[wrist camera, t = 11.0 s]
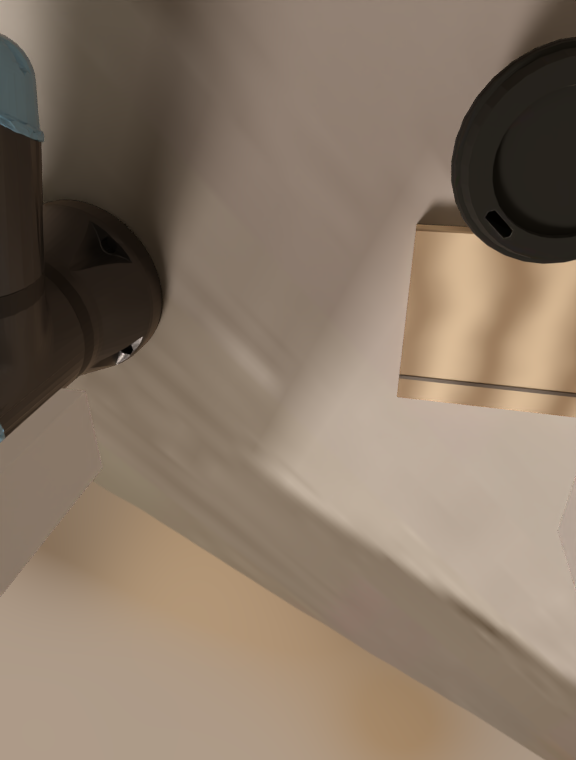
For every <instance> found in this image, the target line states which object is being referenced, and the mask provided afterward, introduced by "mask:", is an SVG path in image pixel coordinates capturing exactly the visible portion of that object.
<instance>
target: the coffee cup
mask: <svg viewBox="0 0 576 760" xmlns="http://www.w3.org/2000/svg"><path fill="white" fill-rule="evenodd" d="M451 183H452V188H453V193H454V198H455V202H456V204H457V206H458V209H459V211H460V213H461V216H462V218H463V220H464V221H465V222H466V224H467V225H468V226H469V228H470V229H471V231H472V232H473V233H474V234H475V235H476V236H477V237H478V238H479V239H480V240H481V241H483V242H484V243H485V244H486V245H487V246H489V247H490V248H492V249H494V250H496V251H498V252H499V253H501V254H503V255H505V256H508V257H511V258H514V259H517V260H520V261H523V262H531V263H540V264H550V263H564V262H569V261H573V260H576V37H571V38H565V39H559V40H556V41H554V42H551V43H548V44H546V45H543V46H540V47H537V48H535V49H533V50H531V51H530V52H528V53H526V54H525V55H523V56H521V57H519V58H518V59H516V60H514V61H513V62H511V63H510V64H509V65H508V66H507V67H505V68H504V69H503V70H502V71H501V72H499V73H498V74H497V75H496V76H495V77H494V78H492V80H491V81H490V82H489V83H488V84H487V85H486V87H485V88H484V89H483V90H482V91H481V93H480V94H479V95H478V96H477V97H476V99H475V100H474V102H473V104H472V105H471V107H470V109H469V110H468V112H467V114H466V115H465V117H464V119H463V122H462V124H461V127H460V130H459V132H458V135H457V137H456V140H455V145H454V150H453V156H452V161H451Z"/></svg>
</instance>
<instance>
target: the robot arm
mask: <svg viewBox="0 0 576 760" xmlns="http://www.w3.org/2000/svg"><path fill="white" fill-rule="evenodd" d="M41 142H44V134H43V132H42V131H41V129H40V124H39V115H38V103H37V91H36V79H35V73H34V69H33V67H32V64H31V62H30V60H29V58H28V57H27V55H26V54H25V52H24V51H23V50H22V49H21V48H20V47H19V46H18V45H17V44H16V43H15V42H14V41H13V40H11V39H9V38H8V37H6V36H5V35H3V34H0V597H1V595H2V594H3V593H4V592H5V590H6V589H7V588H8V587H9V585H10V584H11V583H12V582H13V580H14V579H15V578H16V577H17V575H18V574H19V573H20V572H21V570H22V569H23V568H24V566H25V565H26V564H27V562H28V561H29V560H30V559H31V558H32V556H33V555H34V554H35V553H36V551H37V550H38V549H39V547H40V546H41V545H42V544H43V542H44V541H45V540H46V539H47V537H48V536H49V535H50V534H51V532H52V531H53V530H54V528H55V527H56V526H57V525H58V523H59V522H60V521H61V520H62V518H63V517H64V516H65V515H66V513H67V512H68V511H69V510H70V508H71V507H72V506H73V504H74V503H75V502H76V501H77V499H78V498H79V497H80V495H81V494H82V493H83V492H84V491H85V489H86V488H87V487H88V486H89V484H90V483H91V482H92V481H93V479H94V478H95V477H96V475H97V474H98V473H99V472H100V470H101V469H102V468H103V467H102V462H101V458H100V453H99V449H98V444H97V440H96V435H95V431H94V426H93V422H92V417H91V413H90V408H89V404H88V399H87V395H86V391H82V390H73V389H65V388H66V387H67V386H68V385H69V384H70V383H72V382H73V381H74V380H75V379H76V378H77V377H78V376H80V375H83V374H87V373H90V372H94V371H97V370H101V369H104V368H108V367H111V366H114V365H117V364H120V363H122V362H124V361H125V360H127V359H129V358H130V357H132V356H133V355H134V354H135V353H136V352H137V351H139V350H140V349H141V348H142V347H143V346H144V345H145V344H146V343H147V342H148V341H149V339H150V338H151V337H152V335H153V334H154V332H155V330H156V328H157V326H158V323H159V320H160V315H161V309H162V294H161V286H160V282H159V278H158V274H157V272H156V269H155V266H154V264H153V262H152V260H151V258H150V256H149V254H148V252H147V251H146V249H145V248H144V246H143V245H142V243H141V242H140V241H139V239H138V238H137V237H136V236H135V235H134V234H133V232H132V231H131V230H130V229H129V228H128V227H126V226H125V225H124V224H123V223H122V222H121V221H119V220H118V219H117V218H115V217H114V216H112V215H111V214H109V213H108V212H106V211H104V210H102V209H100V208H98V207H96V206H93V205H91V204H88V203H84V202H80V201H75V200H56V201H50V202H47V203H44V204H43V193H42V150H41ZM558 533H559V537H560V540H561V543H562V547H563V550H564V553H565V557H566V560H567V563H568V567H569V570H570V573H571V577H572V580H573V583H574V586H575V590H576V476H575V479H574V482H573V485H572V488H571V491H570V494H569V497H568V500H567V503H566V506H565V509H564V512H563V515H562V518H561V521H560V524H559V527H558Z"/></svg>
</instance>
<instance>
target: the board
mask: <svg viewBox="0 0 576 760" xmlns="http://www.w3.org/2000/svg"><path fill="white" fill-rule="evenodd" d="M397 397H402V398H411V399H419V400H428V401H437V402H446V403H454V404H463V405H472V406H481V407H489V408H498V409H507V410H516V411H524V412H533V413H542V414H551V415H559V416H568V417H576V260H573V261H569V262H564V263H550V264H540V263H531V262H523V261H520V260H517V259H514V258H511V257H508V256H505V255H503V254H501V253H499V252H498V251H496V250H494V249H492V248H490V247H489V246H487V245H486V244H485V243H484V242H483V241H481V240H480V239H479V238H478V237H477V236H476V235H475V234H474V233H473V232H472V231H471V229H470V228H469V227H460V226H441V225H422V224H417V226H416V235H415V243H414V252H413V261H412V270H411V278H410V287H409V296H408V304H407V313H406V322H405V331H404V339H403V348H402V357H401V366H400V374H399V383H398V392H397Z"/></svg>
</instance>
